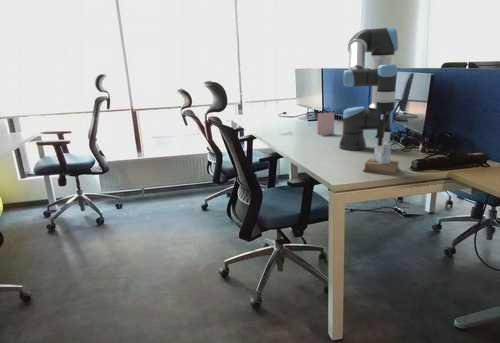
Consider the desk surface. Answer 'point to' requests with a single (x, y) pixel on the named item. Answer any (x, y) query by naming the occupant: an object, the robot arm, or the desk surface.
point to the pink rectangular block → (325, 123)
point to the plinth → (381, 167)
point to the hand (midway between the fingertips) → (382, 149)
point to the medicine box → (383, 154)
